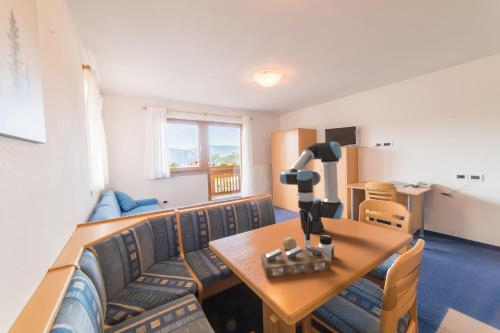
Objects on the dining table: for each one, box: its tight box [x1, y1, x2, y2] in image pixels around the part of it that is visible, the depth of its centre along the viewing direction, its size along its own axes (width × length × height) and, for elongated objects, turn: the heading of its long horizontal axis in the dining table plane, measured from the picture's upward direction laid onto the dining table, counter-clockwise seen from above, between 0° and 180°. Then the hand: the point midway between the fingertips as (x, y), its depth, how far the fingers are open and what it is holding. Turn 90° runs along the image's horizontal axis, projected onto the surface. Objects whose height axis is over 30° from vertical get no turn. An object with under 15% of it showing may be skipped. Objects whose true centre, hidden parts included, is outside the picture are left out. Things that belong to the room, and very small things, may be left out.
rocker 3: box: [304, 245, 322, 254], centre depth 102 cm, size 8×3×2 cm, turn 98°
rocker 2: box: [285, 245, 303, 258], centre depth 100 cm, size 8×3×2 cm, turn 97°
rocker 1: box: [265, 248, 283, 261], centre depth 99 cm, size 8×3×2 cm, turn 97°
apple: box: [282, 236, 297, 251], centre depth 120 cm, size 8×8×8 cm
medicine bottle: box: [317, 234, 335, 263], centre depth 108 cm, size 7×7×12 cm
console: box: [260, 248, 331, 279], centre depth 101 cm, size 32×13×6 cm, turn 97°
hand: (307, 245), depth 101 cm, fingers closed
